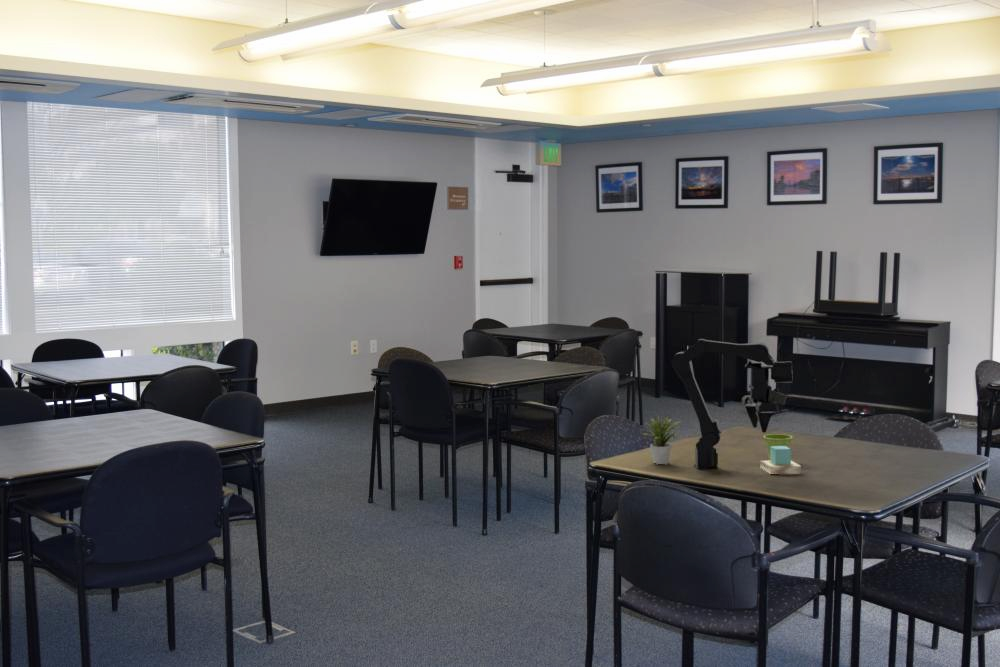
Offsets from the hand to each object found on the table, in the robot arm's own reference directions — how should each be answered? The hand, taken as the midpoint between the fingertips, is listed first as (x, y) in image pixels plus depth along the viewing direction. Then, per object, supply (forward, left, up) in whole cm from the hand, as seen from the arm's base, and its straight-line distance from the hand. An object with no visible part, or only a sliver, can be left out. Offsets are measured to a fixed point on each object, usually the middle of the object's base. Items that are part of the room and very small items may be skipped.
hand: (759, 429), depth 326 cm
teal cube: (+6, -3, -10) cm, 12 cm away
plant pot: (+10, +11, -13) cm, 20 cm away
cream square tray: (+6, -3, -13) cm, 15 cm away
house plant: (-29, +13, -13) cm, 34 cm away
